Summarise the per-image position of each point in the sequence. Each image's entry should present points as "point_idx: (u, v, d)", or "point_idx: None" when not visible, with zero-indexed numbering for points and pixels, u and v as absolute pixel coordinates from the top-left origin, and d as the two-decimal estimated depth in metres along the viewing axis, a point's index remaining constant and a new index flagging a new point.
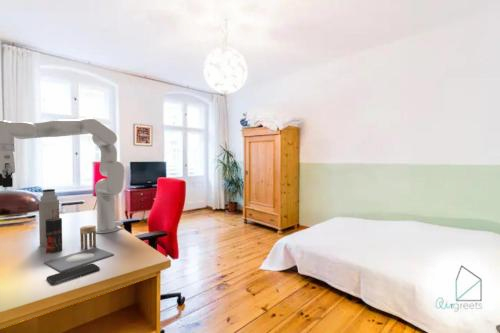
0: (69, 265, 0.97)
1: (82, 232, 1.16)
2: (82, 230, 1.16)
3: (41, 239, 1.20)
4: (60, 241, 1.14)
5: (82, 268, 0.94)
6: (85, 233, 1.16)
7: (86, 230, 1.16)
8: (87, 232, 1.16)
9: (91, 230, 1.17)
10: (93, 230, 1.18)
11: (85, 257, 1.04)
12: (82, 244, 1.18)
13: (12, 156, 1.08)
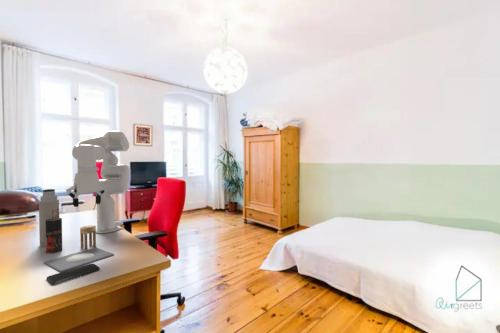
0: (69, 265, 0.97)
1: (82, 232, 1.16)
2: (82, 230, 1.16)
3: (41, 239, 1.20)
4: (60, 241, 1.14)
5: (82, 268, 0.94)
6: (85, 233, 1.16)
7: (86, 230, 1.16)
8: (87, 232, 1.16)
9: (91, 230, 1.17)
10: (93, 230, 1.18)
11: (85, 257, 1.04)
12: (82, 244, 1.18)
13: None
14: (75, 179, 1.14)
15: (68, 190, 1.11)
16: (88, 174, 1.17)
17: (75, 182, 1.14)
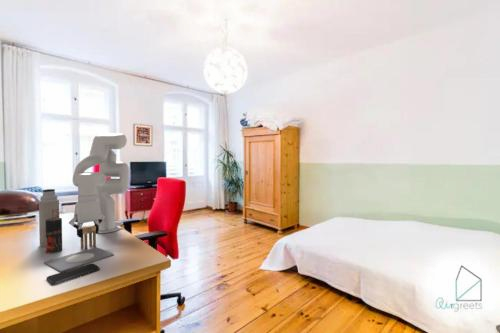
0: (69, 265, 0.97)
1: (82, 232, 1.16)
2: (82, 230, 1.16)
3: (41, 239, 1.20)
4: (60, 241, 1.14)
5: (82, 268, 0.94)
6: (85, 233, 1.16)
7: (86, 230, 1.16)
8: (87, 232, 1.16)
9: (91, 230, 1.17)
10: (93, 230, 1.18)
11: (85, 257, 1.04)
12: (82, 244, 1.18)
13: None
14: (76, 209, 1.15)
15: (71, 223, 1.12)
16: (89, 203, 1.17)
17: (76, 212, 1.15)
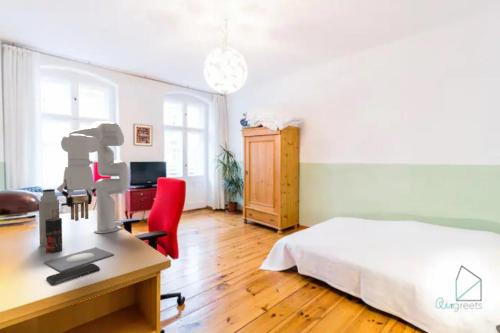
0: (69, 265, 0.97)
1: None
2: None
3: (41, 239, 1.20)
4: (60, 241, 1.14)
5: (82, 268, 0.94)
6: (76, 202, 1.01)
7: (77, 198, 1.01)
8: (78, 201, 1.01)
9: (82, 199, 1.02)
10: (85, 199, 1.03)
11: (85, 257, 1.04)
12: (72, 215, 1.03)
13: None
14: (65, 174, 1.00)
15: (59, 189, 0.98)
16: (80, 168, 1.02)
17: (65, 177, 1.00)
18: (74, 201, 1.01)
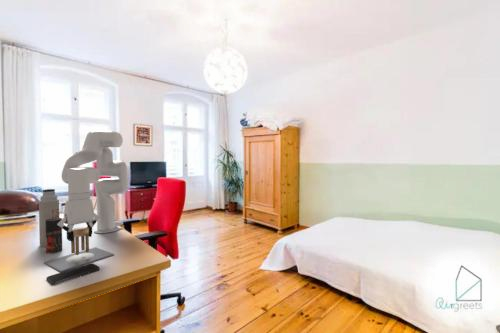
0: (69, 265, 0.97)
1: (73, 235, 1.01)
2: (73, 233, 1.01)
3: (41, 239, 1.20)
4: (60, 241, 1.14)
5: (82, 268, 0.94)
6: (76, 236, 1.01)
7: (77, 233, 1.01)
8: (79, 235, 1.02)
9: (83, 233, 1.03)
10: (86, 233, 1.04)
11: (85, 257, 1.04)
12: (73, 249, 1.04)
13: None
14: (65, 208, 1.00)
15: (60, 224, 0.98)
16: (80, 202, 1.02)
17: (66, 212, 1.00)
18: (75, 235, 1.01)
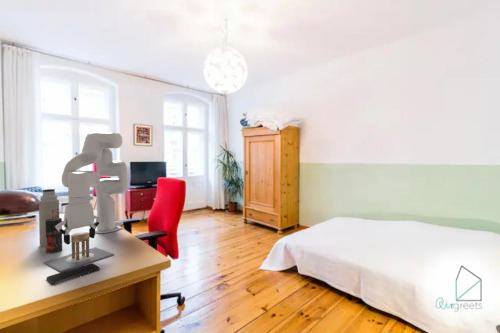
0: (69, 265, 0.97)
1: (73, 240, 1.02)
2: (73, 238, 1.02)
3: (41, 239, 1.20)
4: (60, 241, 1.14)
5: (82, 268, 0.94)
6: (77, 241, 1.02)
7: (78, 238, 1.02)
8: (79, 240, 1.02)
9: (83, 238, 1.03)
10: (86, 238, 1.04)
11: (85, 257, 1.04)
12: (73, 254, 1.04)
13: None
14: (66, 212, 1.00)
15: (58, 226, 0.97)
16: (81, 206, 1.02)
17: (66, 216, 1.00)
18: (75, 241, 1.01)
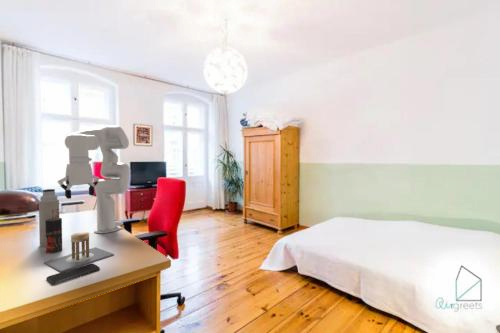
0: (69, 265, 0.97)
1: (73, 240, 1.02)
2: (73, 238, 1.02)
3: (41, 239, 1.20)
4: (60, 241, 1.14)
5: (82, 268, 0.94)
6: (77, 241, 1.02)
7: (78, 238, 1.02)
8: (79, 240, 1.02)
9: (83, 238, 1.03)
10: (86, 238, 1.04)
11: (85, 257, 1.04)
12: (73, 254, 1.04)
13: None
14: (67, 170, 1.11)
15: (60, 181, 1.08)
16: (80, 165, 1.13)
17: (67, 173, 1.10)
18: (75, 241, 1.01)
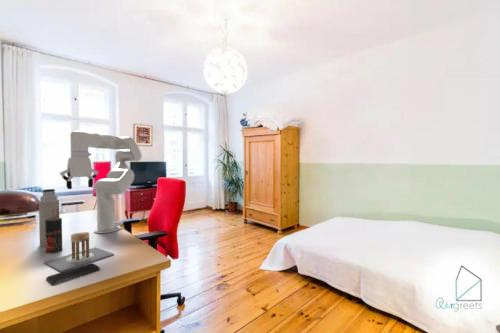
0: (69, 265, 0.97)
1: (73, 240, 1.02)
2: (73, 238, 1.02)
3: (41, 239, 1.20)
4: (60, 241, 1.14)
5: (82, 268, 0.94)
6: (77, 241, 1.02)
7: (78, 238, 1.02)
8: (79, 240, 1.02)
9: (83, 238, 1.03)
10: (86, 238, 1.04)
11: (85, 257, 1.04)
12: (73, 254, 1.04)
13: None
14: (68, 163, 1.23)
15: (62, 173, 1.19)
16: (81, 159, 1.25)
17: (68, 166, 1.22)
18: (75, 241, 1.01)
